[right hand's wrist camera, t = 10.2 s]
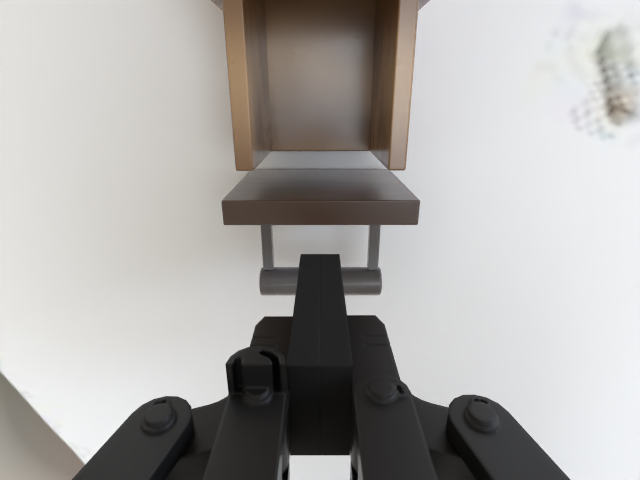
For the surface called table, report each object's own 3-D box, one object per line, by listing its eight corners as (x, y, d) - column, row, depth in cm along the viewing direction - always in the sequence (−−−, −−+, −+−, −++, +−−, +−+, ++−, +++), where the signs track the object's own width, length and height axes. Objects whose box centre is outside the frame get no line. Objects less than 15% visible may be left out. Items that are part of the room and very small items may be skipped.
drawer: (383, 267, 28) (407, 333, 20) (257, 267, 28) (233, 333, 20) (408, -128, 20) (465, -275, 12) (232, -128, 20) (175, -275, 12)
